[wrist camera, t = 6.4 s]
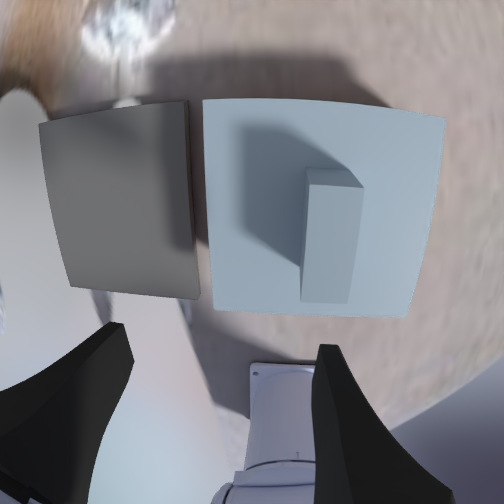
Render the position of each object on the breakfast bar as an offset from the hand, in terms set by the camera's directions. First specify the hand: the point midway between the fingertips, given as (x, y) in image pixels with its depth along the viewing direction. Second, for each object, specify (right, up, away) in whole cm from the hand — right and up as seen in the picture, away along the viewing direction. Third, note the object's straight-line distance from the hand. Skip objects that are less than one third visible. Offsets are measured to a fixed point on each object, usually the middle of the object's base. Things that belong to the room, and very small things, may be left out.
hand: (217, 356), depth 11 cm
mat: (-8, +7, +9) cm, 14 cm away
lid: (+5, +6, +4) cm, 8 cm away
